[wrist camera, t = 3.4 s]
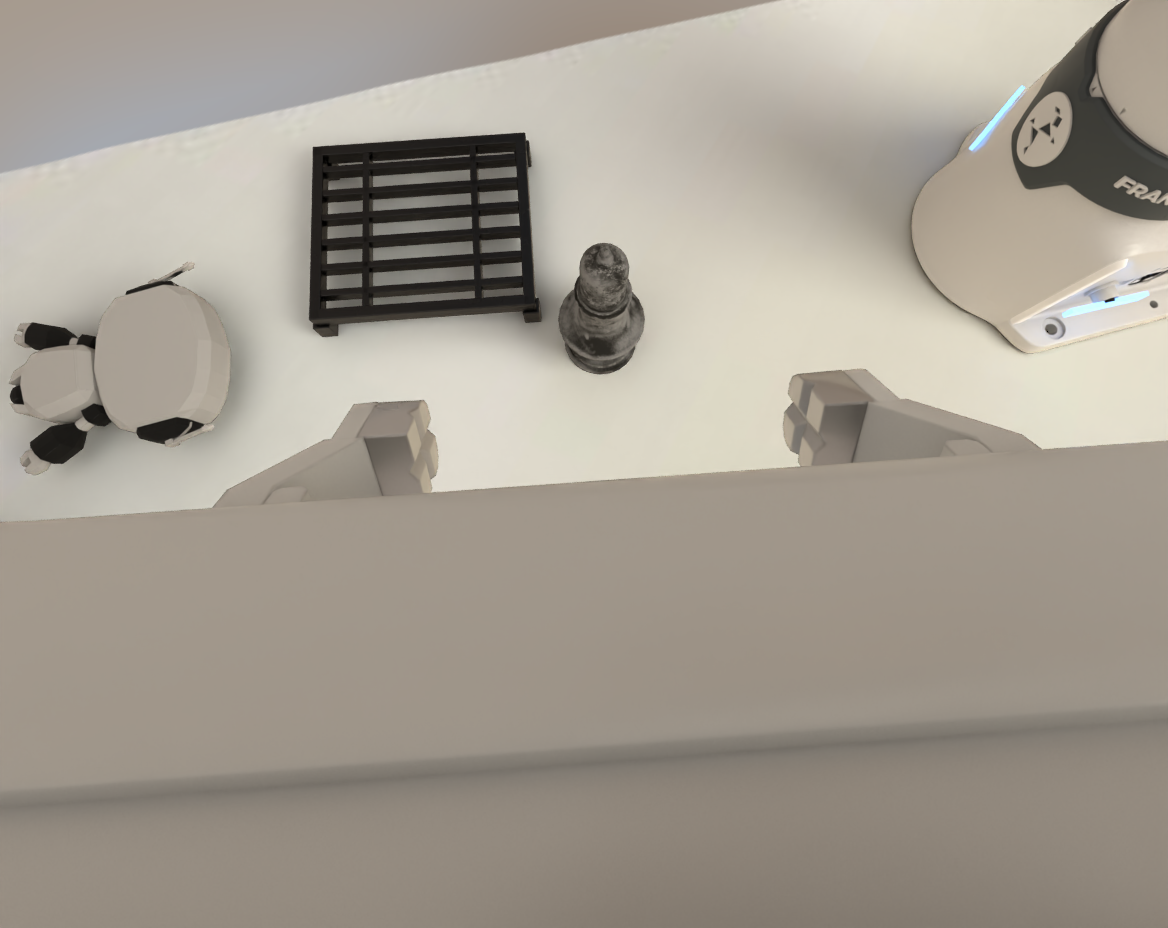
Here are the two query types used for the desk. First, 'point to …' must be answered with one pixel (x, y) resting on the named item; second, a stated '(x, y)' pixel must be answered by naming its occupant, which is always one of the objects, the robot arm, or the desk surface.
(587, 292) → the grey stone turned piece
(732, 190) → the desk surface
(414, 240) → the grate
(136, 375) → the robot toy
